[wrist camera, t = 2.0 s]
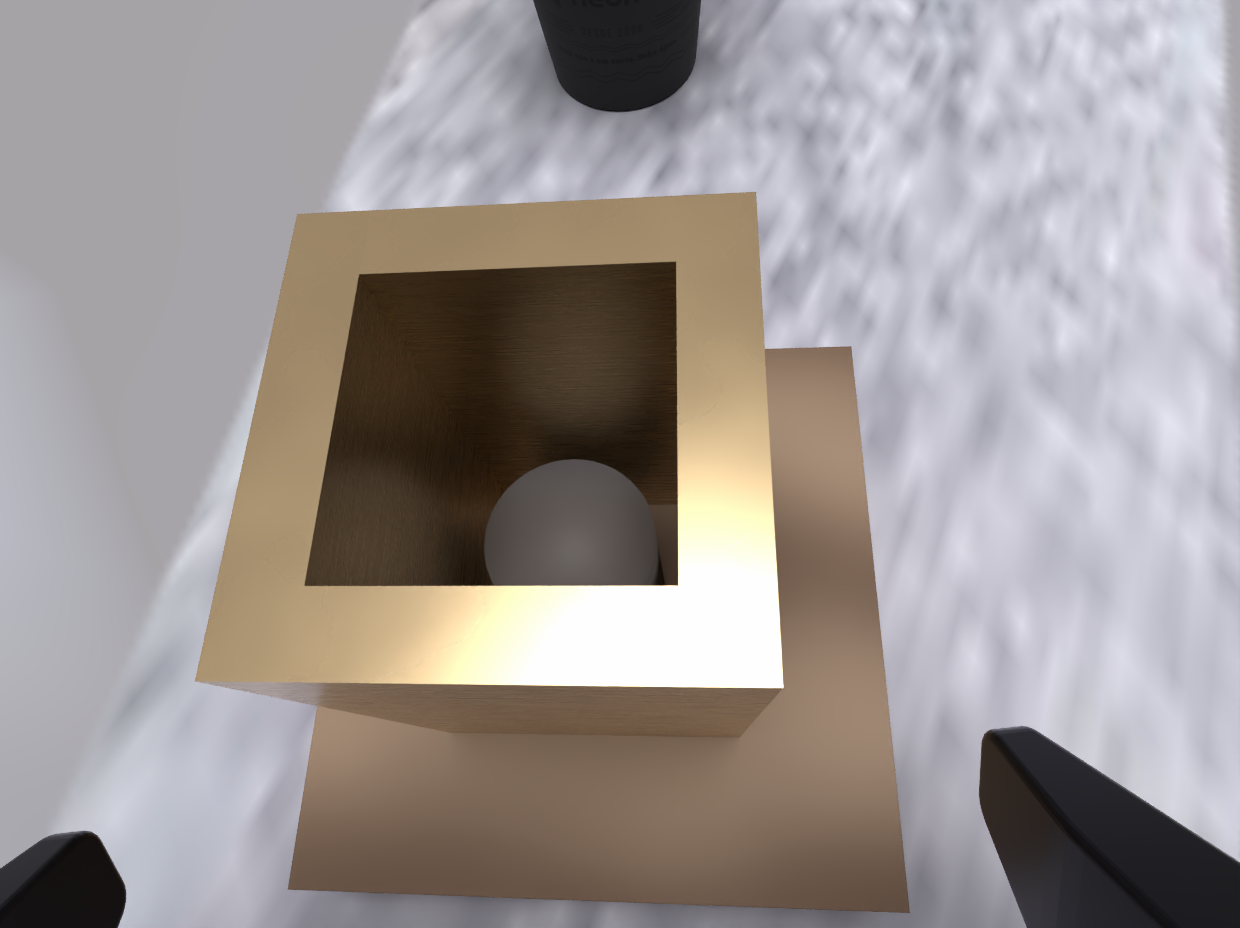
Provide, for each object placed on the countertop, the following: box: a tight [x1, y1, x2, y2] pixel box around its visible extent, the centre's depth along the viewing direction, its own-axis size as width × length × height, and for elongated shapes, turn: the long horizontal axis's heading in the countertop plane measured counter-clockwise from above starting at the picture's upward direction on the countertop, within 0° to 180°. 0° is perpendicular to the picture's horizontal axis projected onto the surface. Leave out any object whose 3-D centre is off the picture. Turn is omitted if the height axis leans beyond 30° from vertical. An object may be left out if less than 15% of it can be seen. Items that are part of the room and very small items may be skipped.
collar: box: [195, 192, 783, 738], centre depth 13 cm, size 6×6×9 cm
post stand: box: [288, 347, 910, 913], centre depth 17 cm, size 12×12×6 cm
